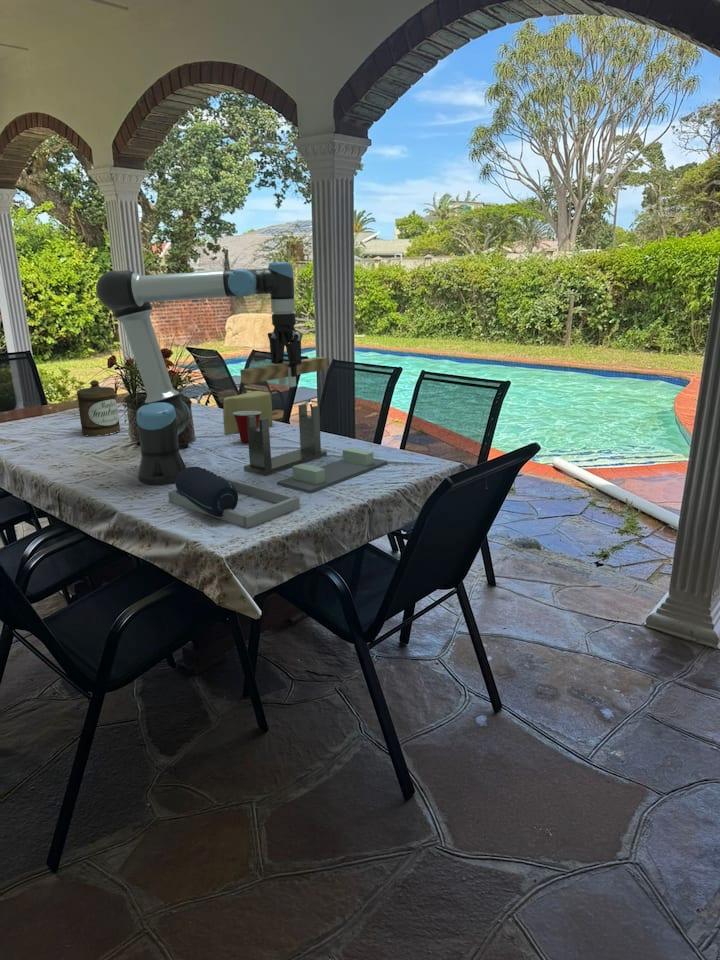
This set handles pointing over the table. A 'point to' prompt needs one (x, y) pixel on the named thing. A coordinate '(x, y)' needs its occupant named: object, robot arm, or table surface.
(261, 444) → the grey notched post stand
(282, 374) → the rail
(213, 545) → the table surface
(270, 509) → the speaker dock
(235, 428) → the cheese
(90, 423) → the wooden container
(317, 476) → the plate with green blocks
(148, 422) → the robot arm
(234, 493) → the portable speaker
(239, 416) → the plastic cup
